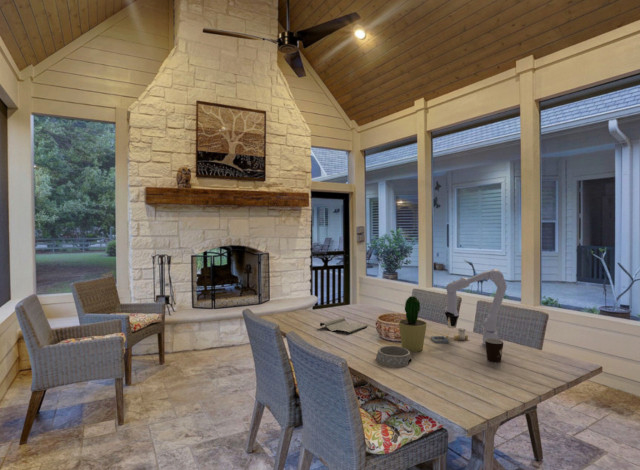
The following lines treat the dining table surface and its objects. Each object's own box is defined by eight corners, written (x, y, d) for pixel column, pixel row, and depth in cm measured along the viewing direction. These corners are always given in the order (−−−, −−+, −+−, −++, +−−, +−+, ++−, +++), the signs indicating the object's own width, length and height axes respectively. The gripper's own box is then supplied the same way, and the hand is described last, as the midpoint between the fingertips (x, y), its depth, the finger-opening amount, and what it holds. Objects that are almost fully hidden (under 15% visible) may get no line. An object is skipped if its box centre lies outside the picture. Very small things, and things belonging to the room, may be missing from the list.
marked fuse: (456, 328, 225) (456, 318, 225) (449, 328, 225) (449, 318, 224) (453, 326, 229) (453, 316, 229) (446, 326, 229) (446, 316, 228)
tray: (448, 344, 220) (448, 340, 220) (435, 344, 220) (435, 340, 220) (443, 339, 228) (443, 336, 228) (430, 340, 228) (430, 336, 228)
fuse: (466, 340, 225) (466, 330, 225) (459, 340, 225) (460, 330, 225) (463, 338, 229) (463, 328, 229) (457, 338, 229) (457, 328, 229)
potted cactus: (415, 355, 202) (415, 299, 201) (392, 347, 214) (393, 295, 213) (432, 348, 212) (432, 295, 211) (409, 342, 223) (410, 291, 223)
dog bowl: (415, 358, 198) (415, 348, 197) (404, 370, 182) (404, 359, 182) (384, 352, 206) (384, 343, 206) (371, 363, 190) (371, 352, 190)
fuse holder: (470, 342, 224) (470, 336, 224) (447, 342, 223) (447, 337, 223) (465, 338, 231) (465, 333, 231) (443, 338, 230) (443, 333, 230)
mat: (348, 336, 238) (348, 328, 237) (319, 329, 252) (319, 322, 252) (368, 328, 256) (368, 321, 256) (339, 322, 270) (339, 316, 270)
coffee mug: (492, 364, 189) (493, 344, 188) (481, 358, 197) (481, 339, 197) (512, 361, 192) (512, 342, 192) (499, 356, 200) (500, 337, 200)
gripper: (440, 300, 233) (440, 322, 234) (449, 305, 219) (449, 328, 219) (451, 300, 234) (451, 322, 234) (461, 305, 219) (461, 328, 220)
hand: (451, 325), depth 227 cm, fingers closed on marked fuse, 4 cm apart
